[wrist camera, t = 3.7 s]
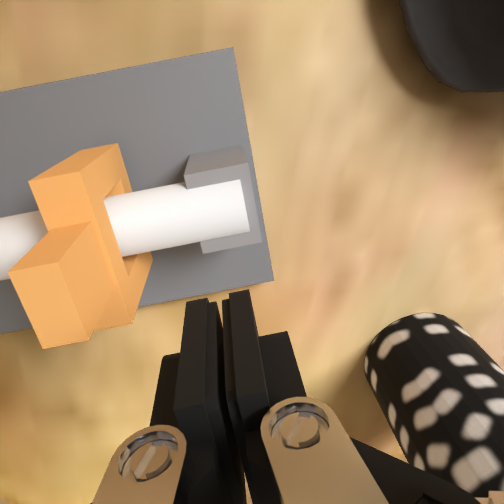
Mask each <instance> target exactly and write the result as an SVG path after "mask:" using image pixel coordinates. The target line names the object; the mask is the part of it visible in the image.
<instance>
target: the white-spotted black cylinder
mask: <svg viewBox="0 0 504 504" xmlns="http://www.w3.org/2000/svg"><path fill="white" fill-rule="evenodd" d="M364 368H365V374H366V378H367V380H368V382H369V384H370V386H371V388H372V390H373V392H374V394H375V396H376V398H377V401H378V403H379V405H380V407H381V409H382V411H383V413H384V415H385V417H386V419H387V421H388V423H389V425H390V427H391V429H392V431H393V433H394V435H395V437H396V439H397V441H398V443H399V445H400V447H401V449H402V451H403V453H404V455H405V457H406V459H407V461H408V463H409V464H410V465H413V466H415V467H417V468H419V469H421V470H424V471H426V472H428V473H430V474H432V475H435V476H437V477H439V478H441V479H444V480H446V481H448V482H450V483H452V484H455V485H457V486H458V487H460V488H462V489H463V490H465V491H467V492H469V493H470V494H471V495H472V496H474V497H475V498H488V497H489V491H504V371H503V370H502V369H501V368H500V367H499V366H498V365H497V364H496V362H495V361H494V360H493V359H492V358H491V357H490V356H489V355H488V354H487V353H486V352H485V351H484V350H483V349H482V348H481V347H480V346H479V345H478V344H477V343H476V342H475V341H474V340H473V339H472V338H471V337H470V335H469V334H468V333H467V332H466V331H465V330H464V329H463V328H462V327H461V326H460V325H459V324H458V323H456V322H455V321H454V320H452V319H451V318H448V317H446V316H444V315H440V314H435V313H421V314H414V315H410V316H407V317H404V318H401V319H399V320H397V321H396V322H394V323H392V324H390V325H389V326H388V327H386V328H385V329H384V330H382V331H381V332H380V333H379V334H378V335H377V336H376V338H375V339H374V340H373V342H372V343H371V345H370V347H369V349H368V351H367V353H366V357H365V362H364Z"/></svg>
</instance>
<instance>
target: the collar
mask: <svg viewBox="0 0 504 504" xmlns="http://www.w3.org/2000/svg"><path fill="white" fill-rule="evenodd" d="M28 183H29V185H30V188H31V190H32V193H33V195H34V198H35V200H36V203H37V205H38V208H39V210H40V213H41V215H42V218H43V220H44V223H45V225H46V228H47V230H48V233H47V234H46V235H45V236H44V237H43V238H42V239H41V240H40V241H39V242H38V243H37V244H36V245H35V246H34V247H33V248H32V249H31V250H30V251H29V252H28V253H27V254H26V255H25V256H24V257H22V258H21V259H20V260H19V261H18V262H17V263H16V264H15V265H14V266H13V267H12V268H11V269H10V270H9V271H8V275H9V277H10V279H11V281H12V283H13V285H14V288H15V290H16V292H17V294H18V296H19V298H20V301H21V303H22V305H23V307H24V309H25V311H26V314H27V316H28V318H29V320H30V322H31V324H32V327H33V329H34V331H35V333H36V335H37V337H38V340H39V342H40V344H41V346H42V348H43V349H46V348H52V347H57V346H62V345H67V344H72V343H77V342H82V341H87V340H89V339H90V337H91V334H92V332H93V331H97V330H102V329H107V328H112V327H117V326H122V325H128V324H132V323H133V320H134V316H135V313H136V310H137V307H138V304H139V301H140V298H141V295H142V292H143V289H144V286H145V283H146V280H147V277H148V274H149V270H150V267H151V264H152V261H153V258H152V255H151V251H150V252H145V253H140V254H134V255H129V256H124V257H122V256H121V253H120V250H119V247H118V243H117V240H116V237H115V234H114V231H113V228H112V225H111V222H110V219H109V216H108V213H107V210H106V207H105V204H104V201H103V199H104V198H105V197H110V196H115V195H120V194H125V193H131V192H133V191H132V188H131V185H130V181H129V178H128V175H127V171H126V168H125V165H124V161H123V158H122V155H121V151H120V148H119V145H118V143H114V144H109V145H104V146H99V147H94V148H88V149H83V150H80V151H78V152H77V153H75V154H73V155H72V156H70V157H68V158H67V159H65V160H63V161H62V162H60V163H58V164H56V165H55V166H53V167H51V168H50V169H48V170H46V171H45V172H43V173H41V174H40V175H38V176H36V177H35V178H33V179H31V180H29V181H28Z"/></svg>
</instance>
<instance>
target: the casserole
mask: <svg viewBox="0 0 504 504" xmlns="http://www.w3.org/2000/svg"><path fill="white" fill-rule="evenodd" d="M399 3H400V7H401V10H402V14H403V17H404V21H405V24H406V28H407V31H408V34H409V36H410V38H411V40H412V42H413V44H414V46H415V48H416V50H417V52H418V54H419V56H420V58H421V60H422V62H423V63H424V64H425V65H426V66H427V68H428V69H429V70H430V71H431V72H432V73H433V75H434V76H435V77H436V78H437V79H438V80H439V82H441V83H443V84H445V85H447V86H449V87H451V88H453V89H455V90H458V91H460V92H499V91H504V0H399Z"/></svg>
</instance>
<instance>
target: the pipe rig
mask: <svg viewBox="0 0 504 504" xmlns="http://www.w3.org/2000/svg"><path fill="white" fill-rule="evenodd" d="M114 143H118V145H119V148H120V151H121V155H122V158H123V161H124V165H125V168H126V171H127V175H128V178H129V181H130V185H131V188H132V191H133V192H131V193H125V194H120V195H115V196H110V197H105V198H104V199H103V201H104V204H105V207H106V210H107V213H108V216H109V219H110V222H111V225H112V228H113V231H114V234H115V237H116V240H117V243H118V247H119V250H120V253H121V256H122V257H124V256H129V255H134V254H140V253H145V252H150V251H151V255H152V258H153V261H152V264H151V267H150V270H149V274H148V277H147V280H146V283H145V286H144V289H143V292H142V295H141V298H140V301H139V304H138V307H142V306H147V305H152V304H157V303H162V302H167V301H172V300H177V299H182V298H188V297H193V296H198V295H203V294H208V293H213V292H218V291H223V290H228V289H234V288H239V287H244V286H249V285H254V284H259V283H264V282H269V281H274V277H273V271H272V266H271V260H270V254H269V248H268V243H267V237H266V231H265V226H264V220H263V214H262V209H261V203H260V197H259V191H258V186H257V180H256V174H255V169H254V163H253V157H252V151H251V146H250V140H249V134H248V129H247V123H246V117H245V112H244V106H243V100H242V94H241V89H240V83H239V77H238V72H237V66H236V60H235V55H234V49H233V47H232V48H227V49H221V50H216V51H211V52H206V53H201V54H195V55H190V56H185V57H180V58H175V59H170V60H164V61H159V62H154V63H149V64H144V65H139V66H133V67H128V68H123V69H118V70H113V71H107V72H102V73H97V74H92V75H87V76H82V77H76V78H71V79H66V80H61V81H56V82H51V83H45V84H40V85H35V86H30V87H25V88H20V89H14V90H9V91H4V92H0V334H4V333H9V332H14V331H19V330H24V329H29V328H33V327H32V324H31V322H30V320H29V318H28V316H27V314H26V311H25V309H24V307H23V305H22V303H21V301H20V298H19V296H18V294H17V292H16V290H15V288H14V285H13V283H12V281H11V279H10V277H9V275H8V271H9V270H10V269H11V268H12V267H13V266H14V265H15V264H16V263H17V262H18V261H19V260H20V259H21V258H22V257H24V256H25V255H26V254H27V253H28V252H29V251H30V250H31V249H32V248H33V247H34V246H35V245H36V244H37V243H38V242H39V241H40V240H41V239H42V238H43V237H44V236H45V235H46V234H47V233H48V230H47V228H46V225H45V223H44V220H43V218H42V215H41V213H40V210H39V208H38V205H37V203H36V200H35V198H34V195H33V193H32V190H31V188H30V185H29V183H28V181H29V180H31V179H33V178H35V177H36V176H38V175H40V174H41V173H43V172H45V171H46V170H48V169H50V168H51V167H53V166H55V165H56V164H58V163H60V162H62V161H63V160H65V159H67V158H68V157H70V156H72V155H73V154H75V153H77V152H78V151H80V150H83V149H88V148H94V147H99V146H104V145H109V144H114Z"/></svg>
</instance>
